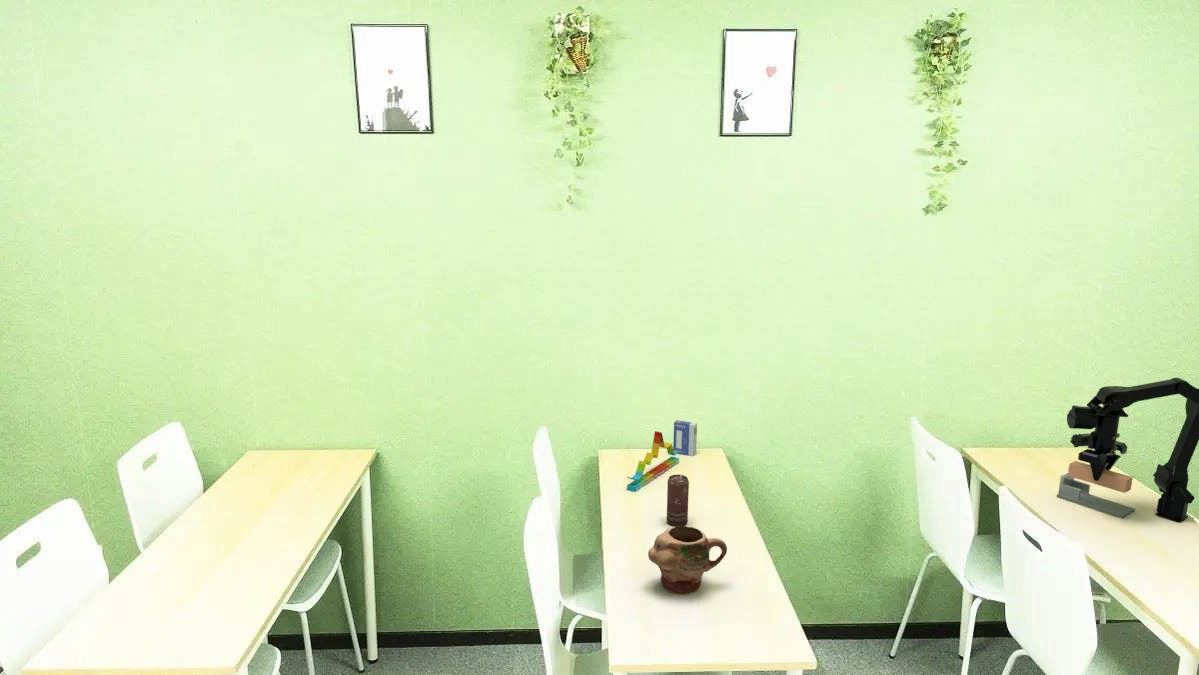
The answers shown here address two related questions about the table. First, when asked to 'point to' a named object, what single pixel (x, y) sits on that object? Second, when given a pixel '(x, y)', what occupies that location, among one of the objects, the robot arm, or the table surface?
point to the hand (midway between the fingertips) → (1099, 478)
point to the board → (1101, 505)
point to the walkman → (685, 438)
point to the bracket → (1072, 487)
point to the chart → (644, 479)
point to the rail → (1106, 479)
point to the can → (677, 500)
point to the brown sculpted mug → (684, 558)
